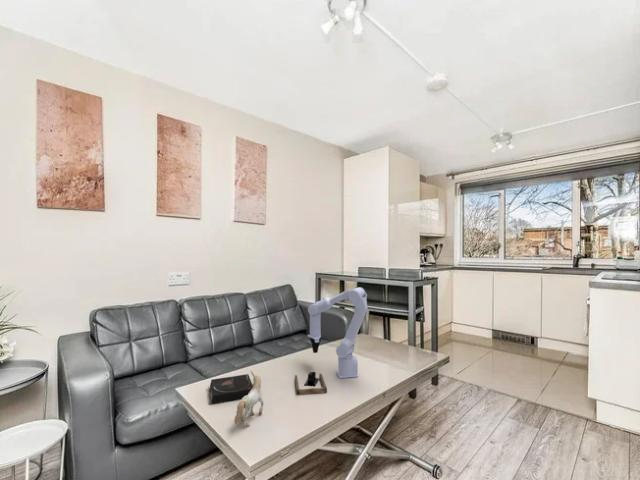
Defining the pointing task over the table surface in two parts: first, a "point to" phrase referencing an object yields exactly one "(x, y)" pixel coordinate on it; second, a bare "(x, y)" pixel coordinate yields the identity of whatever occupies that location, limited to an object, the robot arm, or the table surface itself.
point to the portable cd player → (230, 388)
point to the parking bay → (311, 390)
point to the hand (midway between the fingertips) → (315, 352)
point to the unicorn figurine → (250, 402)
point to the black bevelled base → (311, 379)
